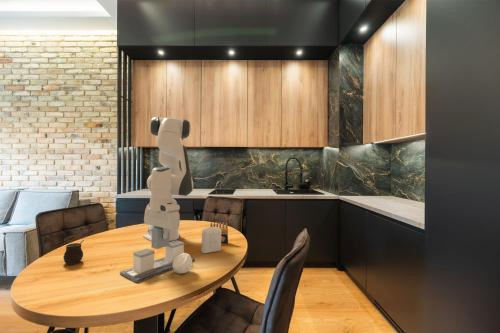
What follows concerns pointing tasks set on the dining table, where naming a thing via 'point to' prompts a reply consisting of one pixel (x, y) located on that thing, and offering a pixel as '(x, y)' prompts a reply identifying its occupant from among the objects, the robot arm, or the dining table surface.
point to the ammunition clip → (222, 232)
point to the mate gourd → (73, 253)
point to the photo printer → (211, 239)
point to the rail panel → (159, 268)
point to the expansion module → (159, 238)
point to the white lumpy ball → (182, 263)
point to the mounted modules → (146, 257)
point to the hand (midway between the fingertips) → (160, 237)
